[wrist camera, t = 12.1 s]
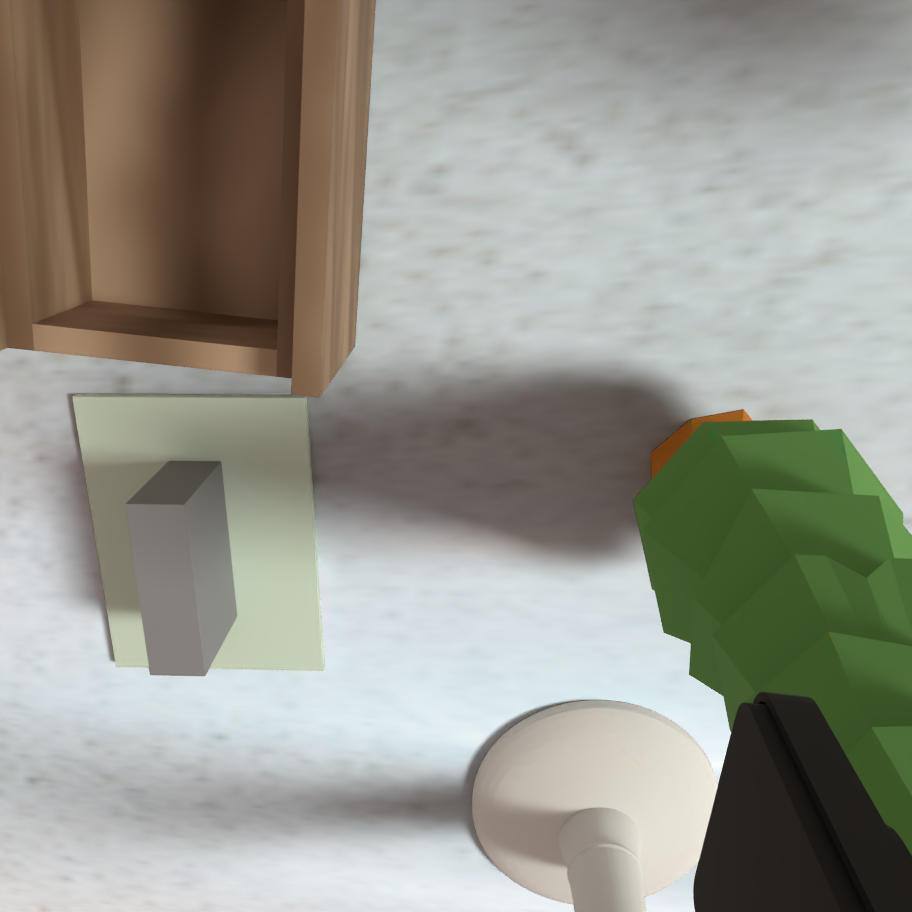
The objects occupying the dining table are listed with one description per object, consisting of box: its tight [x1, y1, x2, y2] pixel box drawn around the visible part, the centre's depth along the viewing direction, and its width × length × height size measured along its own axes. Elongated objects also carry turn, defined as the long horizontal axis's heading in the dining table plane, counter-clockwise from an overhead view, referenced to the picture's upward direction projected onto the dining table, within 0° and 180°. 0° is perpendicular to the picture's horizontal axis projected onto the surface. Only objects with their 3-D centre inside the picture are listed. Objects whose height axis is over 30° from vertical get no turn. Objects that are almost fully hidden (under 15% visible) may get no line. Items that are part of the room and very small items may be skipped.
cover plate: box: [72, 394, 325, 676], centre depth 39 cm, size 10×14×6 cm
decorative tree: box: [633, 410, 912, 856], centre depth 25 cm, size 10×9×30 cm
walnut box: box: [0, 0, 376, 397], centre depth 31 cm, size 13×14×8 cm
